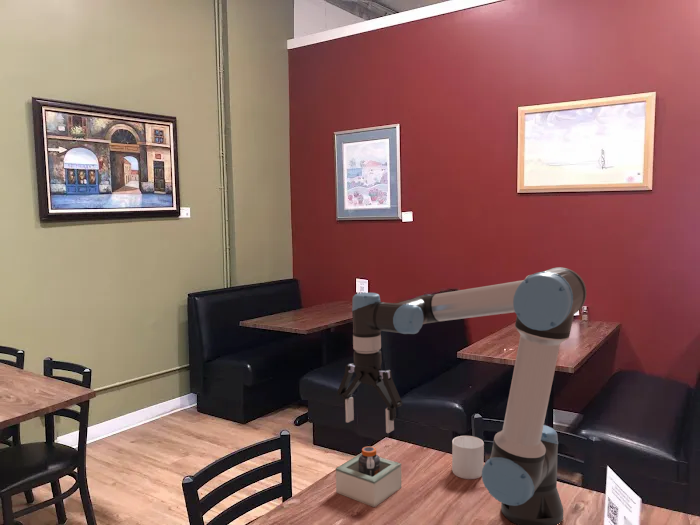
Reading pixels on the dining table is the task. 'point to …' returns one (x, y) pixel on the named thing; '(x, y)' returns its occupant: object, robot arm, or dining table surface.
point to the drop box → (368, 481)
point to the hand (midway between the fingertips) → (369, 426)
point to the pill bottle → (369, 461)
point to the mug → (467, 457)
